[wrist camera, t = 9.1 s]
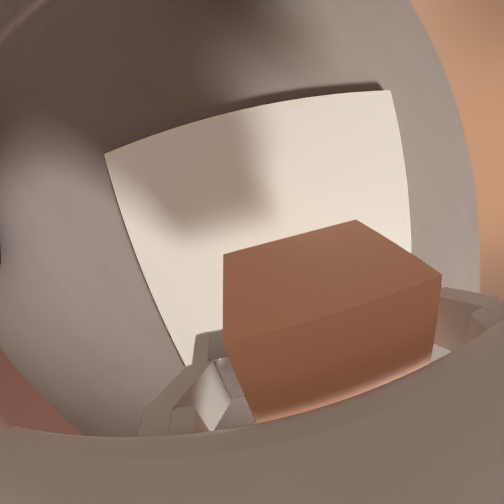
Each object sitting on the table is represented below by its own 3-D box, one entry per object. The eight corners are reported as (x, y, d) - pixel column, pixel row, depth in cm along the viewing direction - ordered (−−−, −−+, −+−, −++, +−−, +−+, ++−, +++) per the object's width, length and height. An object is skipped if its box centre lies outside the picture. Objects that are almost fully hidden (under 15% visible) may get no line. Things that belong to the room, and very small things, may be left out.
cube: (364, 326, 12) (418, 405, 7) (256, 358, 12) (272, 455, 7) (356, 219, 10) (441, 274, 5) (223, 254, 10) (222, 343, 5)
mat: (405, 321, 19) (408, 325, 18) (196, 380, 19) (196, 385, 18) (385, 91, 13) (390, 90, 13) (108, 153, 13) (103, 154, 13)
